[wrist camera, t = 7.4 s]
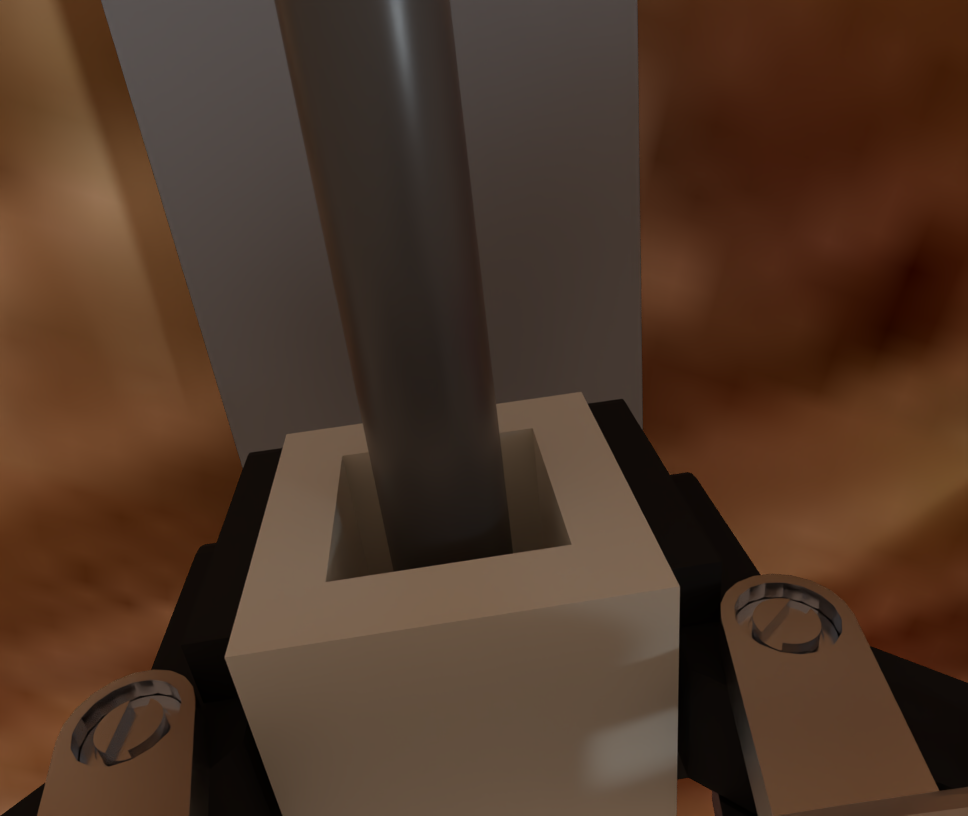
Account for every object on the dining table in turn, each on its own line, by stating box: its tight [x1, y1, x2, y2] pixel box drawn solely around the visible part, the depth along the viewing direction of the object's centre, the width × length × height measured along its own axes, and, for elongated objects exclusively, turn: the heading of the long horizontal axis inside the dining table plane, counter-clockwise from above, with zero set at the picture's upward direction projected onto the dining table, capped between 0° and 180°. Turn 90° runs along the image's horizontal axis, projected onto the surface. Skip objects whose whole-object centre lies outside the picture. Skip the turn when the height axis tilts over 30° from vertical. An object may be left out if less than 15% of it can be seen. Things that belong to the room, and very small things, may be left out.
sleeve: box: [225, 392, 680, 816], centre depth 9 cm, size 4×4×4 cm
